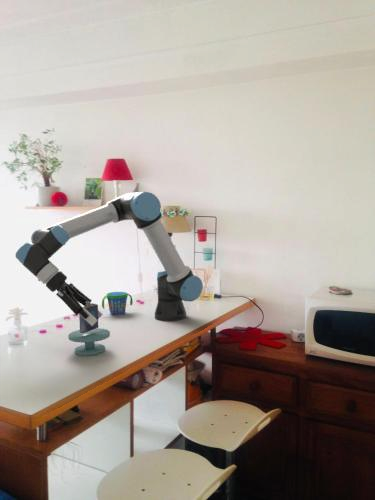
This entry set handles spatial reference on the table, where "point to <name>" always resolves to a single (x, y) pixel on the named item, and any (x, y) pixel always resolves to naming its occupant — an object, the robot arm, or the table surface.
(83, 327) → the flask
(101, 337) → the cake stand
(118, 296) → the snack cup
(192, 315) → the table surface
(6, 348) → the table surface
